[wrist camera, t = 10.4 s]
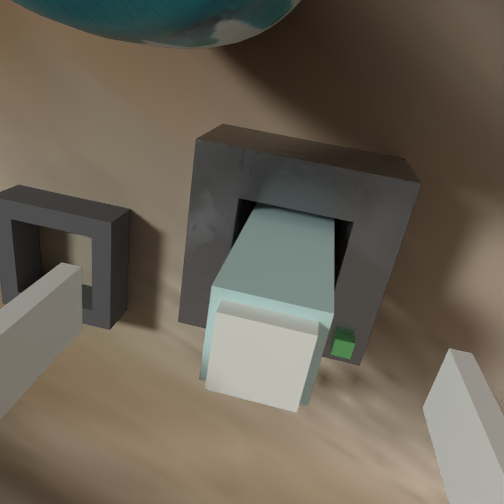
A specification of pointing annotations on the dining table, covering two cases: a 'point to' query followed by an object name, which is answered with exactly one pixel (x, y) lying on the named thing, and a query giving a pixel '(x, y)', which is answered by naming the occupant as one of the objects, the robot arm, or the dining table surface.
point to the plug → (271, 309)
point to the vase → (167, 19)
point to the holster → (75, 221)
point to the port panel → (307, 200)
